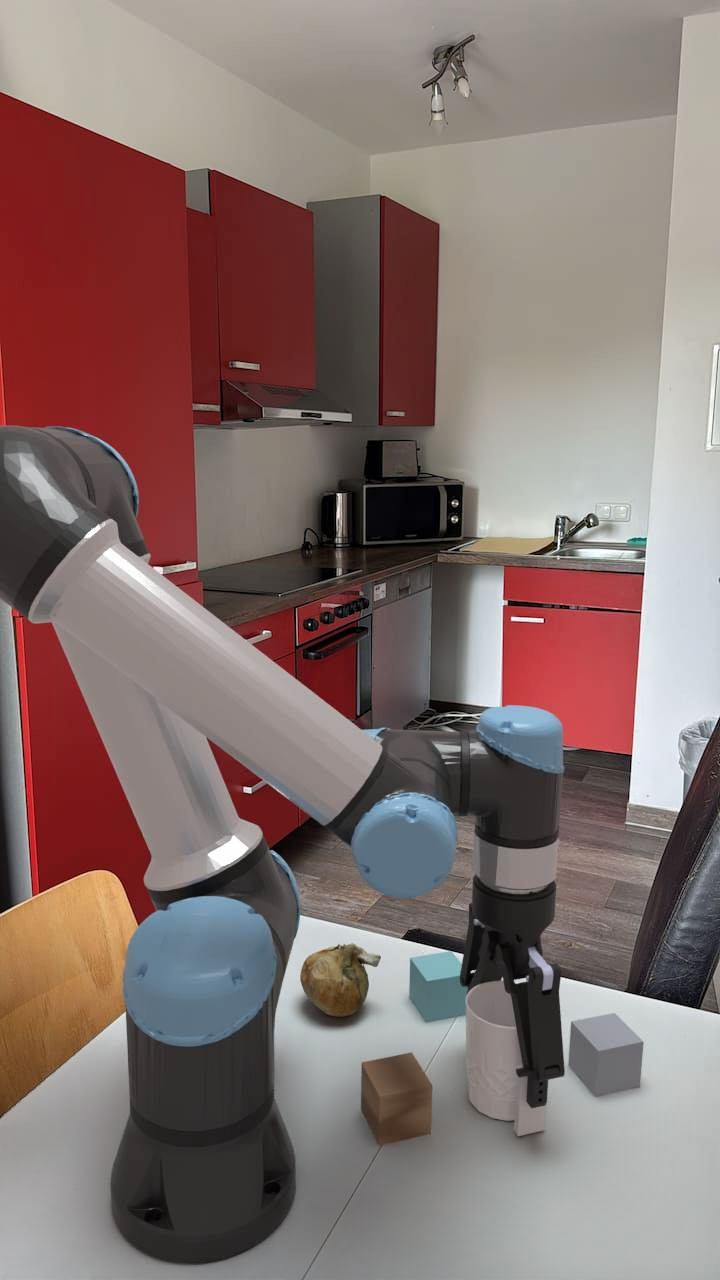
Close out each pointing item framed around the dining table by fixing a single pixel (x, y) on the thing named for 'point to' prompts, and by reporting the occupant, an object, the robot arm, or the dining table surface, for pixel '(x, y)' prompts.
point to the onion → (338, 978)
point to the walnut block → (396, 1098)
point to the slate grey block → (605, 1054)
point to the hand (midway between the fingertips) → (504, 1095)
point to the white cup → (492, 1050)
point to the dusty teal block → (437, 986)
